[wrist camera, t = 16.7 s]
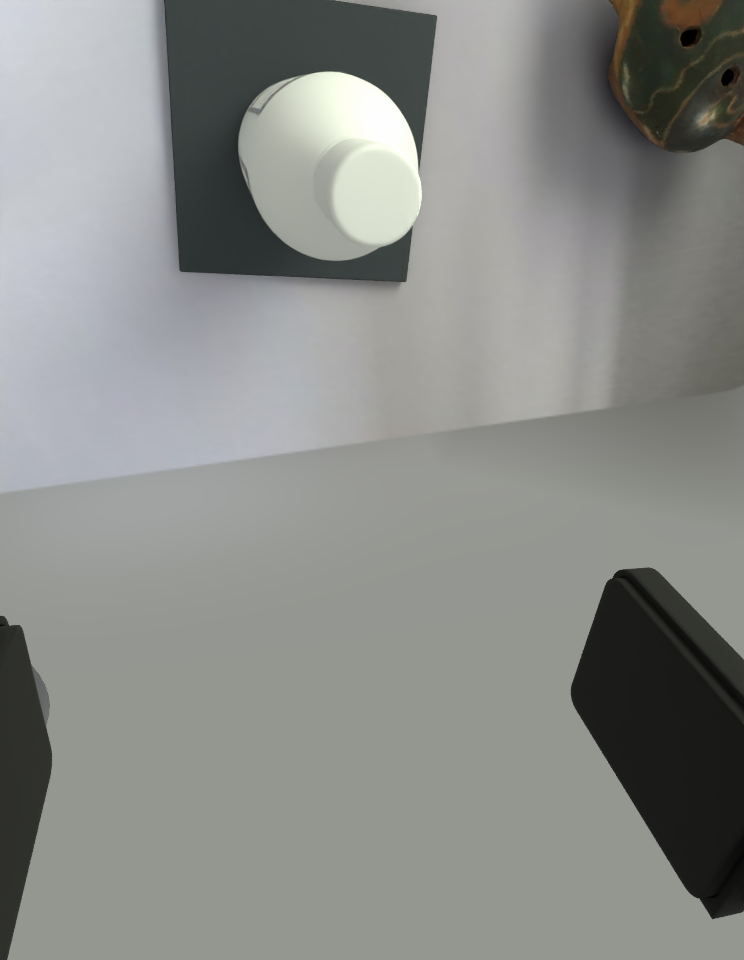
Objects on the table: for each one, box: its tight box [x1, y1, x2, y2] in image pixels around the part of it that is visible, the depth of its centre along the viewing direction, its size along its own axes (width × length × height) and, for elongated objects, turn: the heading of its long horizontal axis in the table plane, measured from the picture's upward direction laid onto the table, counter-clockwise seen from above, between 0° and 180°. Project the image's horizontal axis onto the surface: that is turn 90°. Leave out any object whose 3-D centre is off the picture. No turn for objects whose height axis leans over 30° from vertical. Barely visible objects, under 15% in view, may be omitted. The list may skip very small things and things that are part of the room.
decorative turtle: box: [608, 0, 744, 153], centre depth 34 cm, size 10×15×8 cm, turn 58°
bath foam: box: [238, 71, 422, 261], centre depth 27 cm, size 7×7×20 cm
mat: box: [164, 0, 437, 282], centre depth 36 cm, size 14×14×1 cm
